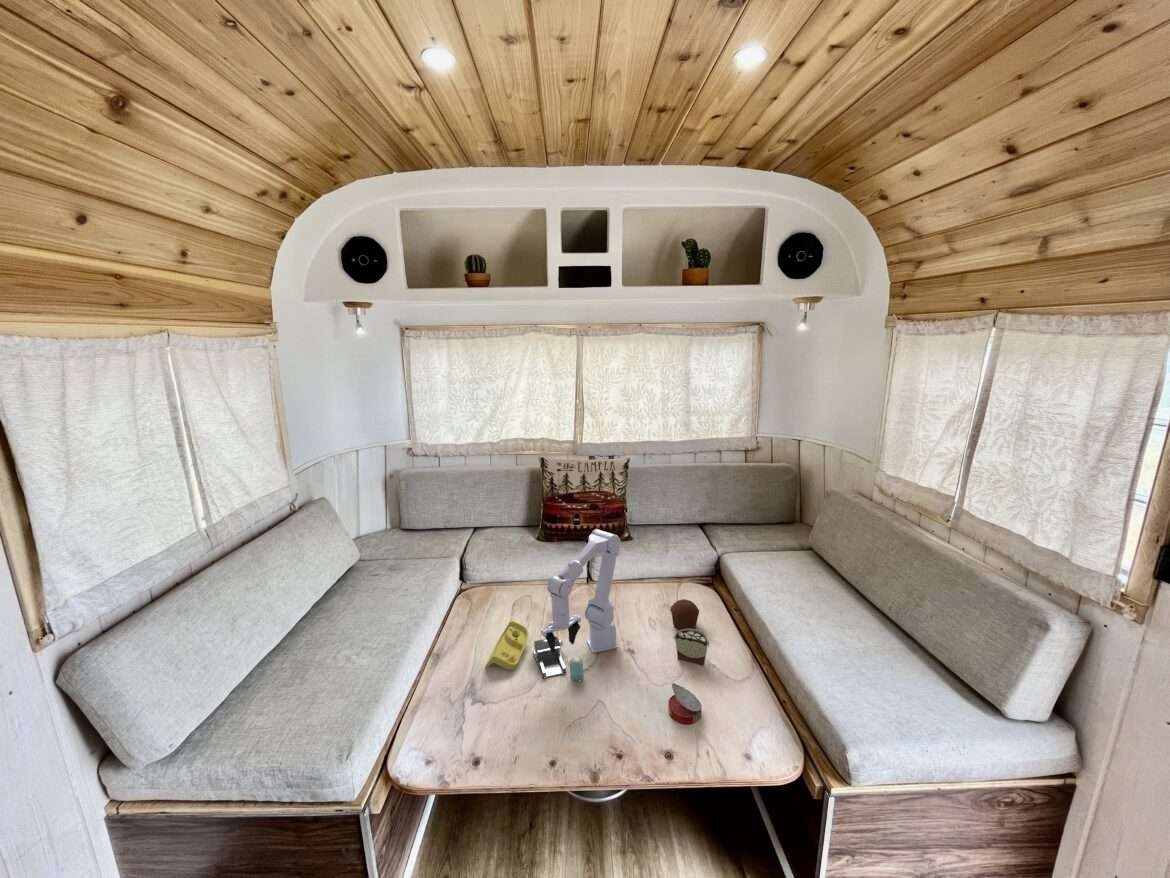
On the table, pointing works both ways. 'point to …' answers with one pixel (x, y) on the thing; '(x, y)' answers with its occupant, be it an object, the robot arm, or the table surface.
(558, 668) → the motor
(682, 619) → the muffin
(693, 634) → the food container
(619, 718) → the table surface
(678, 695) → the canned food
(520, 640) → the plastic component
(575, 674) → the teal rounded cylinder
